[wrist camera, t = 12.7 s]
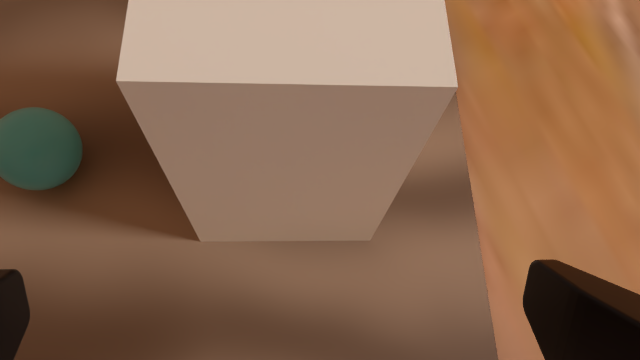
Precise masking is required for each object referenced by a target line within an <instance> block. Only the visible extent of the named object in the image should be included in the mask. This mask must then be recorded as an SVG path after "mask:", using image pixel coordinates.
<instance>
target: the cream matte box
mask: <svg viewBox="0 0 640 360" xmlns="http://www.w3.org/2000/svg"><path fill="white" fill-rule="evenodd" d="M116 82H117V84H118V86H119V88H120V90H121V92H122V94H123V95H124V97H125V99H126V101H127V103H128V105H129V107H130V109H131V111H132V113H133V114H134V116H135V118H136V120H137V122H138V124H139V126H140V128H141V130H142V131H143V133H144V135H145V137H146V139H147V141H148V143H149V145H150V147H151V149H152V150H153V152H154V154H155V156H156V158H157V160H158V162H159V164H160V166H161V168H162V169H163V171H164V173H165V175H166V177H167V179H168V181H169V183H170V185H171V186H172V188H173V190H174V192H175V194H176V196H177V198H178V200H179V202H180V204H181V205H182V207H183V209H184V211H185V213H186V215H187V217H188V219H189V221H190V223H191V224H192V226H193V228H194V230H195V232H196V234H197V236H198V238H199V240H200V241H201V242H217V241H370V240H371V238H372V236H373V234H374V233H375V231H376V229H377V227H378V226H379V224H380V222H381V220H382V219H383V217H384V215H385V214H386V212H387V210H388V208H389V207H390V205H391V203H392V201H393V200H394V198H395V196H396V194H397V193H398V191H399V189H400V187H401V186H402V184H403V182H404V180H405V179H406V177H407V175H408V173H409V172H410V170H411V168H412V166H413V165H414V163H415V161H416V159H417V158H418V156H419V154H420V153H421V151H422V149H423V147H424V146H425V144H426V142H427V140H428V139H429V137H430V135H431V133H432V132H433V130H434V128H435V126H436V125H437V123H438V121H439V119H440V118H441V116H442V114H443V112H444V111H445V109H446V107H447V105H448V104H449V102H450V100H451V98H452V97H453V95H454V93H455V91H456V90H457V88H458V84H457V77H456V71H455V65H454V58H453V52H452V46H451V39H450V33H449V26H448V20H447V14H446V7H445V1H444V0H129V1H128V7H127V13H126V20H125V26H124V33H123V39H122V45H121V52H120V58H119V65H118V71H117V77H116Z"/></svg>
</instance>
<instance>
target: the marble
mask: <svg viewBox="0 0 640 360" xmlns="http://www.w3.org/2000/svg"><path fill="white" fill-rule="evenodd" d="M82 154H83V147H82V141H81V138H80V135H79V133H78V131H77V130H76V128H75V127H74V125H73V124H72V123H71V122H70V121H69V120H68V119H67V118H65V117H64V116H62V115H61V114H59V113H57V112H55V111H52V110H49V109H45V108H39V107H29V108H22V109H18V110H15V111H13V112H10V113H9V114H7V115H5V116H4V117H3V118H1V119H0V177H1V178H3V179H4V180H5V181H7V182H8V183H10V184H12V185H14V186H16V187H19V188H22V189H26V190H46V189H51V188H54V187H57V186H59V185H61V184H63V183H64V182H66V181H67V180H68V179H69V178H71V177H72V176H73V174H74V173H75V172H76V170H77V169H78V167H79V165H80V162H81V159H82Z"/></svg>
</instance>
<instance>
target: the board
mask: <svg viewBox="0 0 640 360" xmlns="http://www.w3.org/2000/svg"><path fill="white" fill-rule="evenodd" d="M128 1H129V0H0V119H1V118H3V117H4V116H5V115H7V114H9V113H10V112H13V111H15V110H18V109H22V108H29V107H39V108H45V109H49V110H52V111H55V112H57V113H59V114H61V115H62V116H64V117H65V118H67V119H68V120H69V121H70V122H71V123H72V124H73V125H74V127H75V128H76V130H77V131H78V133H79V135H80V138H81V141H82V147H83V154H82V159H81V162H80V165H79V167H78V169H77V170H76V172H75V173H74V174H73V176H72V177H71V178H69V179H68V180H67V181H66V182H64V183H63V184H61V185H59V186H57V187H54V188H51V189H46V190H26V189H22V188H19V187H16V186H14V185H12V184H10V183H8V182H7V181H5V180H4V179H3V178H1V177H0V269H16V270H18V271H19V272H20V273H21V275H22V277H23V280H24V285H25V289H26V294H27V298H28V303H29V307H30V320H29V324H28V327H27V329H26V332H25V334H24V337H23V339H22V341H21V344H20V346H19V348H18V351H17V353H16V356H15V358H14V360H498V356H497V350H496V343H495V337H494V331H493V324H492V318H491V312H490V305H489V299H488V293H487V286H486V280H485V274H484V267H483V261H482V255H481V249H480V242H479V236H478V230H477V223H476V217H475V211H474V204H473V198H472V192H471V185H470V179H469V173H468V166H467V160H466V154H465V147H464V141H463V135H462V128H461V122H460V116H459V109H458V103H457V97H456V91H455V93H454V95H453V97H452V98H451V100H450V102H449V104H448V105H447V107H446V109H445V111H444V112H443V114H442V116H441V118H440V119H439V121H438V123H437V125H436V126H435V128H434V130H433V132H432V133H431V135H430V137H429V139H428V140H427V142H426V144H425V146H424V147H423V149H422V151H421V153H420V154H419V156H418V158H417V159H416V161H415V163H414V165H413V166H412V168H411V170H410V172H409V173H408V175H407V177H406V179H405V180H404V182H403V184H402V186H401V187H400V189H399V191H398V193H397V194H396V196H395V198H394V200H393V201H392V203H391V205H390V207H389V208H388V210H387V212H386V214H385V215H384V217H383V219H382V220H381V222H380V224H379V226H378V227H377V229H376V231H375V233H374V234H373V236H372V238H371V240H370V241H217V242H201V241H200V240H199V238H198V236H197V234H196V232H195V230H194V228H193V226H192V224H191V223H190V221H189V219H188V217H187V215H186V213H185V211H184V209H183V207H182V205H181V204H180V202H179V200H178V198H177V196H176V194H175V192H174V190H173V188H172V186H171V185H170V183H169V181H168V179H167V177H166V175H165V173H164V171H163V169H162V168H161V166H160V164H159V162H158V160H157V158H156V156H155V154H154V152H153V150H152V149H151V147H150V145H149V143H148V141H147V139H146V137H145V135H144V133H143V131H142V130H141V128H140V126H139V124H138V122H137V120H136V118H135V116H134V114H133V113H132V111H131V109H130V107H129V105H128V103H127V101H126V99H125V97H124V95H123V94H122V92H121V90H120V88H119V86H118V84H117V82H116V77H117V71H118V65H119V58H120V52H121V45H122V39H123V33H124V26H125V20H126V13H127V7H128Z"/></svg>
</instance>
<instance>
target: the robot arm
mask: <svg viewBox="0 0 640 360" xmlns="http://www.w3.org/2000/svg"><path fill="white" fill-rule="evenodd" d="M523 308H524V311H525V314H526V316H527V319H528V321H529V323H530V326H531V328H532V330H533V333H534V335H535V337H536V340H537V342H538V344H539V347H540V349H541V351H542V354H543V356H544V358H545V360H640V295H639V294H637V293H634V292H632V291H630V290H627V289H625V288H622V287H620V286H618V285H615V284H613V283H610V282H608V281H606V280H603V279H601V278H598V277H596V276H594V275H591V274H589V273H586V272H584V271H582V270H579V269H577V268H574V267H572V266H570V265H567V264H565V263H563V262H560V261H558V260H535V261H533V262H532V263H531V265H530V267H529V271H528V276H527V281H526V286H525V290H524V295H523ZM29 320H30V307H29V303H28V298H27V294H26V289H25V285H24V280H23V277H22V275H21V273H20V272H19V271H18V270H16V269H0V360H14V358H15V356H16V353H17V351H18V348H19V346H20V344H21V341H22V339H23V337H24V334H25V332H26V329H27V327H28V324H29Z"/></svg>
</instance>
